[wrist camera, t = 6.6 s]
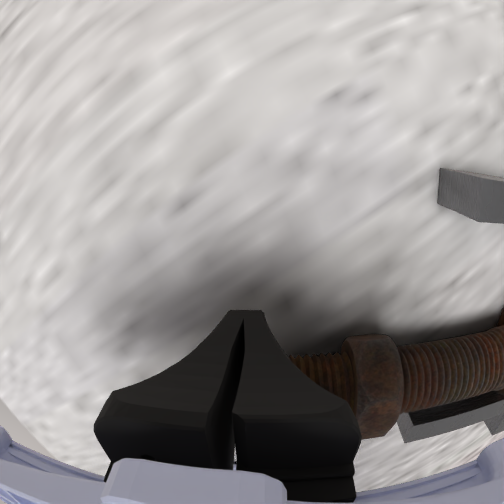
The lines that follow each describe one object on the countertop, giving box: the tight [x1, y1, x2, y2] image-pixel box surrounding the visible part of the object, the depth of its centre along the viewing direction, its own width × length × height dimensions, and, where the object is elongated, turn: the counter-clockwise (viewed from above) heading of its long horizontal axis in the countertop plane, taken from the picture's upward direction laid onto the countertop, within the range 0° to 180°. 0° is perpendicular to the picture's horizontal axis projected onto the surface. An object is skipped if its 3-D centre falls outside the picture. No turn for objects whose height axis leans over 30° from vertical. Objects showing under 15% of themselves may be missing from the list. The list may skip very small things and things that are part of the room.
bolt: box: [288, 308, 504, 440], centre depth 12 cm, size 6×5×15 cm
